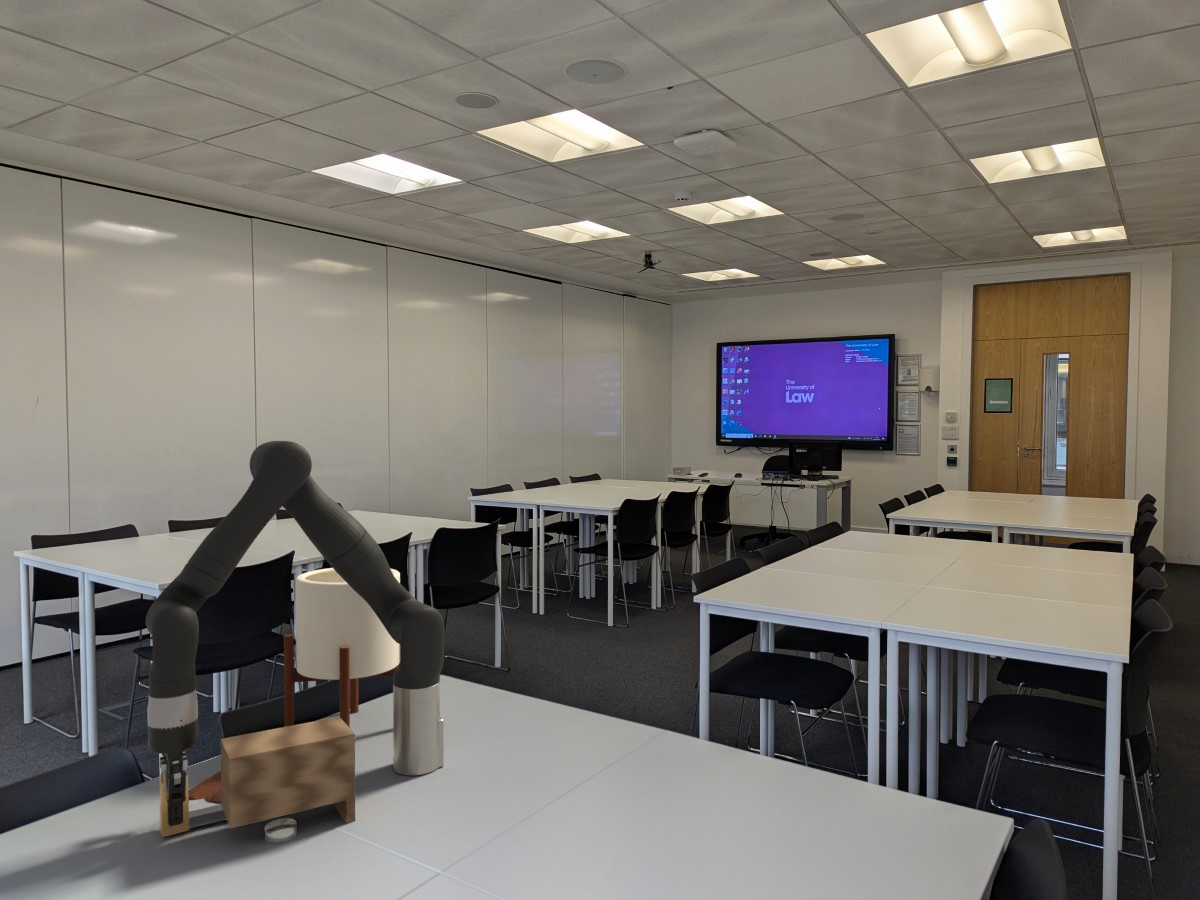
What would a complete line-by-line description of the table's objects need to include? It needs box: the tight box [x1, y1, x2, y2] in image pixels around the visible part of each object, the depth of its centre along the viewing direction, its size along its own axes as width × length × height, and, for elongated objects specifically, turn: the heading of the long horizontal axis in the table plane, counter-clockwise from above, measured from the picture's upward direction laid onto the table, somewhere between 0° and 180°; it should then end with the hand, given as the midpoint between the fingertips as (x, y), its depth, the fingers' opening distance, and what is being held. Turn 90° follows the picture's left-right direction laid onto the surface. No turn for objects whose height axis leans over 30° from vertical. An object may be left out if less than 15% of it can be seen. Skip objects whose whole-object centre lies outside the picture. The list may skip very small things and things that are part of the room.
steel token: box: [264, 817, 298, 845], centre depth 134 cm, size 5×5×2 cm
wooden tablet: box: [188, 770, 221, 804], centre depth 160 cm, size 27×10×2 cm, turn 169°
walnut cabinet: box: [220, 716, 356, 830], centre depth 138 cm, size 20×10×15 cm, turn 123°
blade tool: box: [158, 773, 227, 838], centre depth 140 cm, size 21×4×9 cm, turn 123°
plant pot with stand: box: [283, 567, 401, 729], centre depth 181 cm, size 22×22×36 cm
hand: (174, 818), depth 136 cm, fingers closed on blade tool, 4 cm apart
